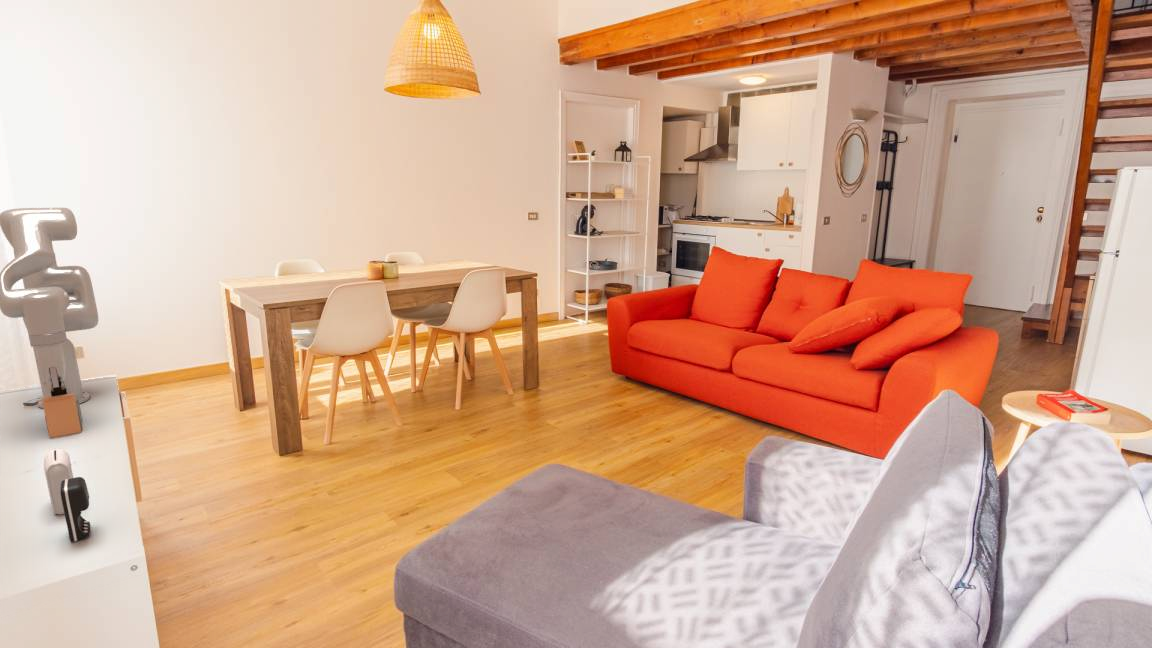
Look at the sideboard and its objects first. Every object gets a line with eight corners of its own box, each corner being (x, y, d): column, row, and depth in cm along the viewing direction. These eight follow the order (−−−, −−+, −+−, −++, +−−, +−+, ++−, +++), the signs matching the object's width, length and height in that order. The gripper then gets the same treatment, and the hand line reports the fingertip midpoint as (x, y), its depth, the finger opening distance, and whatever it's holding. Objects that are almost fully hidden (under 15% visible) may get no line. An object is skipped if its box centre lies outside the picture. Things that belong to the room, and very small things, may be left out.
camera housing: (50, 428, 174) (45, 403, 172) (83, 422, 178) (78, 398, 176) (49, 440, 166) (43, 414, 164) (83, 434, 170) (78, 408, 169)
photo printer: (52, 497, 138) (42, 446, 135) (77, 491, 141) (67, 441, 138) (52, 517, 130) (41, 464, 127) (78, 511, 133) (68, 458, 130)
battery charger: (94, 537, 124) (84, 486, 121) (70, 544, 121) (59, 491, 119) (94, 522, 129) (85, 472, 126) (71, 528, 127) (61, 477, 124)
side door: (50, 438, 166) (42, 398, 163) (81, 433, 170) (74, 393, 167) (50, 440, 165) (41, 399, 162) (81, 434, 169) (73, 394, 166)
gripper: (31, 334, 168) (44, 398, 172) (27, 347, 157) (41, 415, 161) (66, 330, 173) (78, 393, 177) (65, 342, 161) (78, 408, 165)
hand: (61, 403), depth 169 cm, fingers closed
